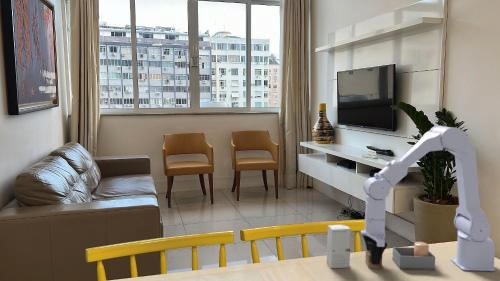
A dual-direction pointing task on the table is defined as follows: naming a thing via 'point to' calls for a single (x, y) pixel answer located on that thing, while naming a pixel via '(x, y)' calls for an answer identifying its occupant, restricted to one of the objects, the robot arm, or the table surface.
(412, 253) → the tote
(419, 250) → the cylinder
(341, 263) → the skincare box
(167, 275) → the table surface
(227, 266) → the table surface
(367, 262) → the cube
